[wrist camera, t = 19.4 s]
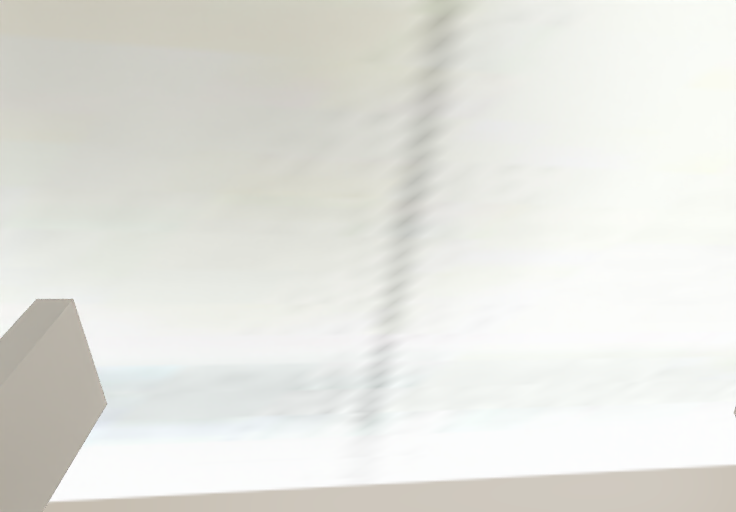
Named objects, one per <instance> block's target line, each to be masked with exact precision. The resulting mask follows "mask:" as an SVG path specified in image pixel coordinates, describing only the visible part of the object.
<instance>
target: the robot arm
mask: <svg viewBox="0 0 736 512" xmlns="http://www.w3.org/2000/svg"><path fill="white" fill-rule="evenodd" d="M106 405H107V402H106V399H105V396H104V393H103V390H102V387H101V384H100V380H99V377H98V374H97V371H96V368H95V365H94V362H93V359H92V356H91V353H90V350H89V346H88V343H87V340H86V337H85V334H84V331H83V328H82V325H81V322H80V319H79V316H78V312H77V309H76V306H75V303H74V300H73V299H36V300H35V301H34V302H33V304H32V305H31V306H30V307H29V308H28V309H27V310H26V311H25V312H24V313H23V315H22V316H21V317H20V318H19V319H18V320H17V321H16V322H15V323H14V324H13V326H12V327H11V328H10V329H9V330H8V331H7V332H6V333H5V334H4V335H3V337H2V338H1V339H0V512H43V510H44V508H45V507H46V505H47V503H48V502H49V500H50V498H51V497H52V495H53V493H54V492H55V490H56V488H57V487H58V485H59V483H60V482H61V480H62V478H63V477H64V475H65V473H66V472H67V470H68V468H69V467H70V465H71V463H72V462H73V460H74V458H75V457H76V455H77V453H78V452H79V450H80V448H81V447H82V445H83V443H84V442H85V440H86V438H87V437H88V435H89V433H90V432H91V430H92V428H93V427H94V425H95V423H96V422H97V420H98V418H99V417H100V415H101V413H102V412H103V410H104V408H105V407H106ZM734 414H735V416H736V407H735V411H734Z"/></svg>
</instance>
